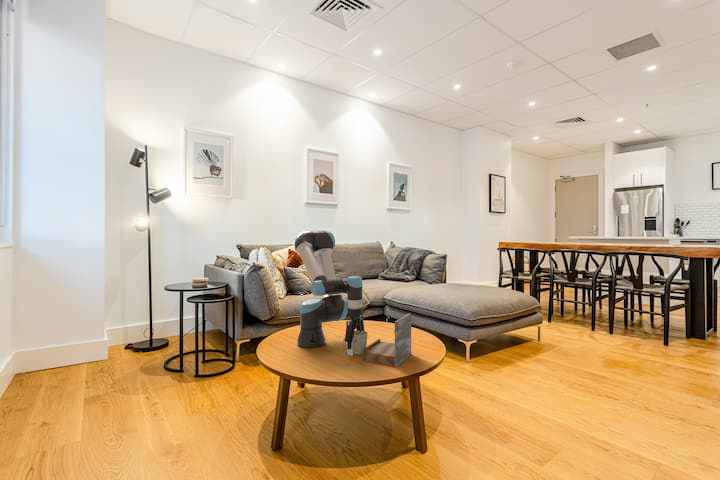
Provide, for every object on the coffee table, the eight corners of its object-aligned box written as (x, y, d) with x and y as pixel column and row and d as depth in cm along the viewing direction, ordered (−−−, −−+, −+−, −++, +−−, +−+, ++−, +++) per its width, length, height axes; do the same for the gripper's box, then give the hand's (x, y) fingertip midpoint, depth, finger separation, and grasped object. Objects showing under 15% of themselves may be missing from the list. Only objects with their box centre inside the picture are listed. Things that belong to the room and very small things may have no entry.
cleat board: (363, 360, 167) (362, 317, 166) (378, 348, 183) (378, 310, 182) (398, 366, 159) (397, 322, 158) (411, 354, 175) (411, 313, 174)
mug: (366, 356, 173) (365, 335, 172) (341, 354, 175) (340, 334, 175) (369, 350, 181) (368, 330, 180) (345, 348, 183) (344, 329, 183)
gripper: (350, 312, 166) (351, 360, 166) (371, 304, 185) (371, 346, 186) (337, 311, 169) (337, 357, 170) (358, 302, 189) (358, 344, 189)
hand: (355, 351), depth 178 cm, fingers open, 9 cm apart
